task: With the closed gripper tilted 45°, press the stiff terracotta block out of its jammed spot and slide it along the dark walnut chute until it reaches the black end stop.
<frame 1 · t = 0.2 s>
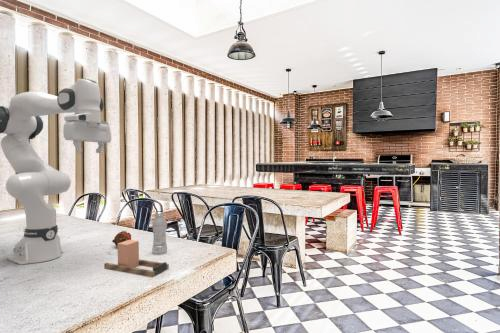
hand: (89, 152, 121), 47 cm above the table, tool pointing down, fingers open, 8 cm apart
plastic bottle: (159, 255, 137), on the table
jammed block: (128, 254, 118), point 6 cm above the table, slide at 0.0 cm
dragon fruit: (122, 246, 151), on the table
chute: (136, 271, 116), on the table
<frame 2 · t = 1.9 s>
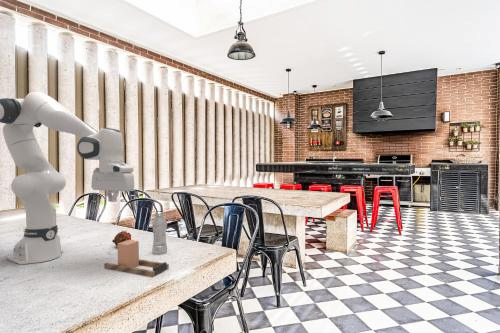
hand: (112, 201, 120), 27 cm above the table, tool pointing down, fingers closed
nothing on the table moved.
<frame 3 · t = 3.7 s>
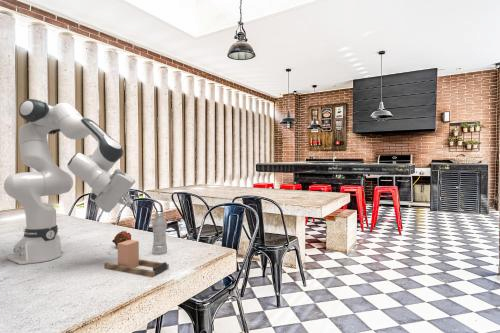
hand: (131, 204, 126), 25 cm above the table, tool tilted 50°, fingers closed
nothing on the table moved.
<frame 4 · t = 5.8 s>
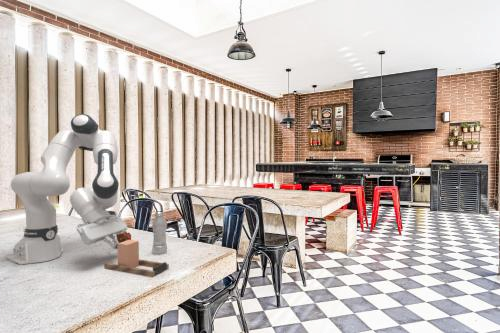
hand: (115, 244, 123), 9 cm above the table, tool tilted 45°, fingers closed
nothing on the table moved.
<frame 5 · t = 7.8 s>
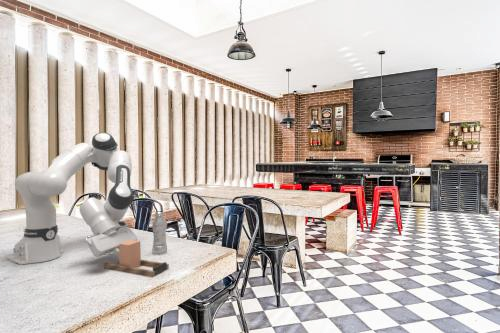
hand: (124, 257, 119), 5 cm above the table, tool tilted 45°, fingers closed, pressing on jammed block
jammed block: (130, 254, 117), point 6 cm above the table, slide at 0.9 cm, touching gripper
everything else where it was.
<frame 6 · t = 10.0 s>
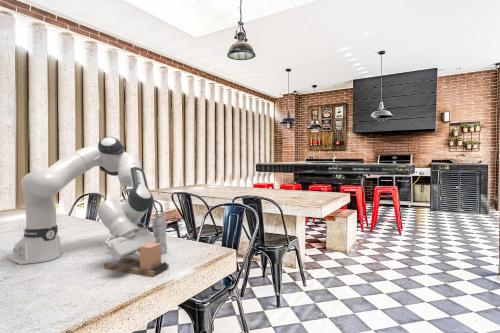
hand: (144, 260, 115), 5 cm above the table, tool tilted 45°, fingers closed, pressing on jammed block
jammed block: (150, 258, 113), point 6 cm above the table, slide at 11.2 cm, touching gripper
everything else where it was.
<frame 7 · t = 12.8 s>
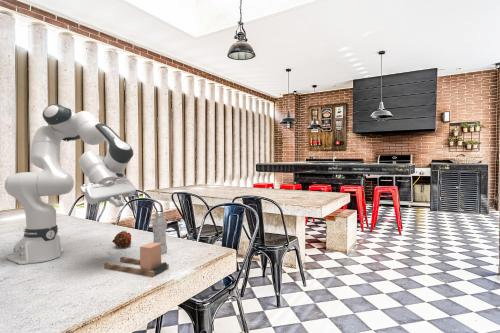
hand: (120, 205, 119), 26 cm above the table, tool tilted 45°, fingers closed
jammed block: (150, 258, 113), point 6 cm above the table, slide at 11.3 cm
everything else where it was.
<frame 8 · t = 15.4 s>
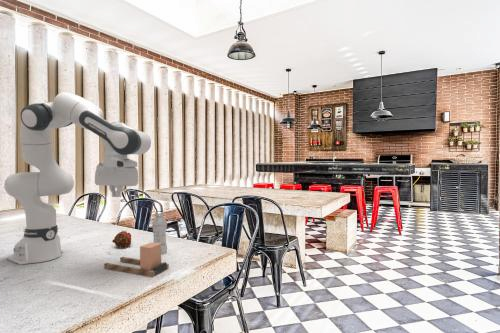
hand: (116, 196, 120), 29 cm above the table, tool pointing down, fingers closed
nothing on the table moved.
at the end: jammed block slide at 11.3 cm; plastic bottle moved 0.2 cm from its start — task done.
